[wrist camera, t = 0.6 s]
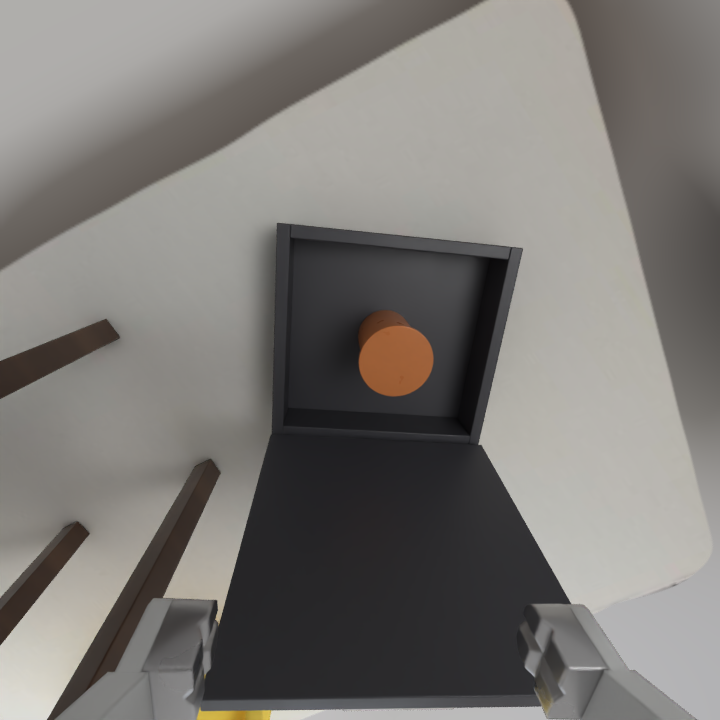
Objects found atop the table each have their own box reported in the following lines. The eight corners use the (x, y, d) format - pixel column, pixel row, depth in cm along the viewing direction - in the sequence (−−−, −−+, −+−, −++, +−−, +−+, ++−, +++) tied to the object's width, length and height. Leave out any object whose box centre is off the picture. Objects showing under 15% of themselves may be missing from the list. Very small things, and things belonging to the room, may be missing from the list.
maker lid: (198, 699, 13) (207, 766, 15) (623, 694, 14) (580, 755, 16) (270, 433, 27) (270, 485, 29) (481, 444, 28) (467, 493, 30)
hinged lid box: (284, 223, 26) (276, 222, 23) (499, 245, 28) (523, 248, 24) (278, 411, 31) (271, 435, 27) (462, 421, 32) (478, 445, 29)
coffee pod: (357, 303, 28) (362, 322, 22) (418, 308, 28) (439, 328, 22) (351, 362, 29) (355, 394, 24) (409, 366, 30) (427, 398, 24)
